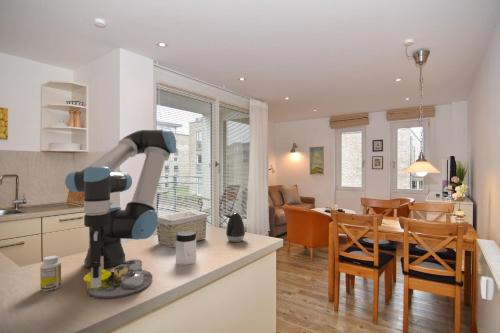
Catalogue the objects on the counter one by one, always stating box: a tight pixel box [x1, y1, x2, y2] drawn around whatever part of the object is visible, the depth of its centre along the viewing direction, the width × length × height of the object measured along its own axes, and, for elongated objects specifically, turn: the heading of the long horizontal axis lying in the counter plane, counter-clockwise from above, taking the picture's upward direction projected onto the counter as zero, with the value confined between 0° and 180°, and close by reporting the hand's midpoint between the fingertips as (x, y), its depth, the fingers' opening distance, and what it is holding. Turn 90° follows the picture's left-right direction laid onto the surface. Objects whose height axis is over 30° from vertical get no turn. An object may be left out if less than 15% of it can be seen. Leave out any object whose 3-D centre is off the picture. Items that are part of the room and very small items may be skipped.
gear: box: [83, 269, 112, 288], centre depth 90 cm, size 8×4×8 cm
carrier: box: [86, 259, 153, 300], centre depth 93 cm, size 20×20×6 cm
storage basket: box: [156, 209, 208, 249], centre depth 146 cm, size 24×16×15 cm
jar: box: [175, 231, 197, 266], centre depth 115 cm, size 9×8×12 cm
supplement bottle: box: [39, 255, 62, 292], centre depth 90 cm, size 6×6×10 cm
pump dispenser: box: [225, 212, 246, 243], centre depth 146 cm, size 10×10×15 cm
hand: (97, 280), depth 90 cm, fingers open, 9 cm apart
